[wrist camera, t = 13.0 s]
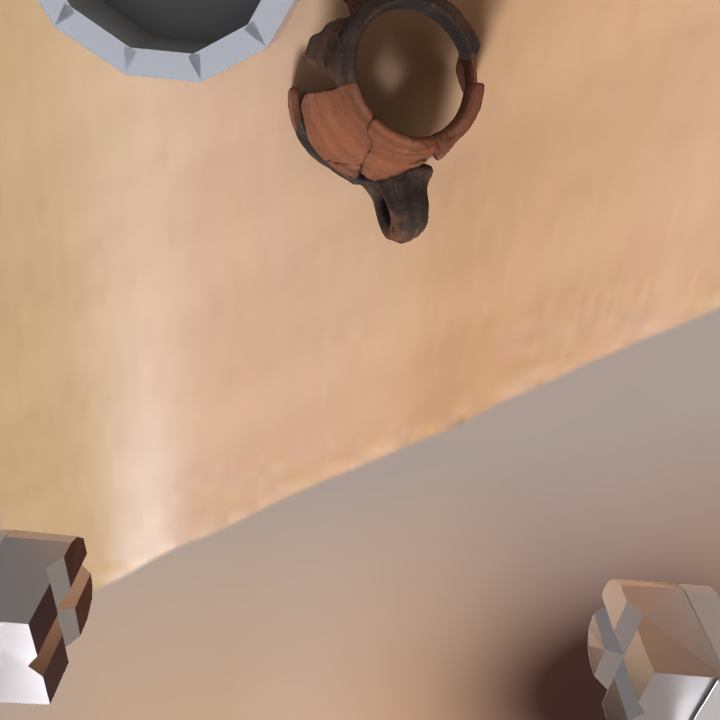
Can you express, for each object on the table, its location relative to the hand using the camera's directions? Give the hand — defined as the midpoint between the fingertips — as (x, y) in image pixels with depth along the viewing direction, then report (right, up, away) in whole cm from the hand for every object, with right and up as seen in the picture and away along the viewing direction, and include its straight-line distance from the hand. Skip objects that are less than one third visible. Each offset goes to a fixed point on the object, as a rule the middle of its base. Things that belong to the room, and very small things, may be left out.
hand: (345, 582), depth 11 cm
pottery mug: (+1, +17, +26) cm, 31 cm away
